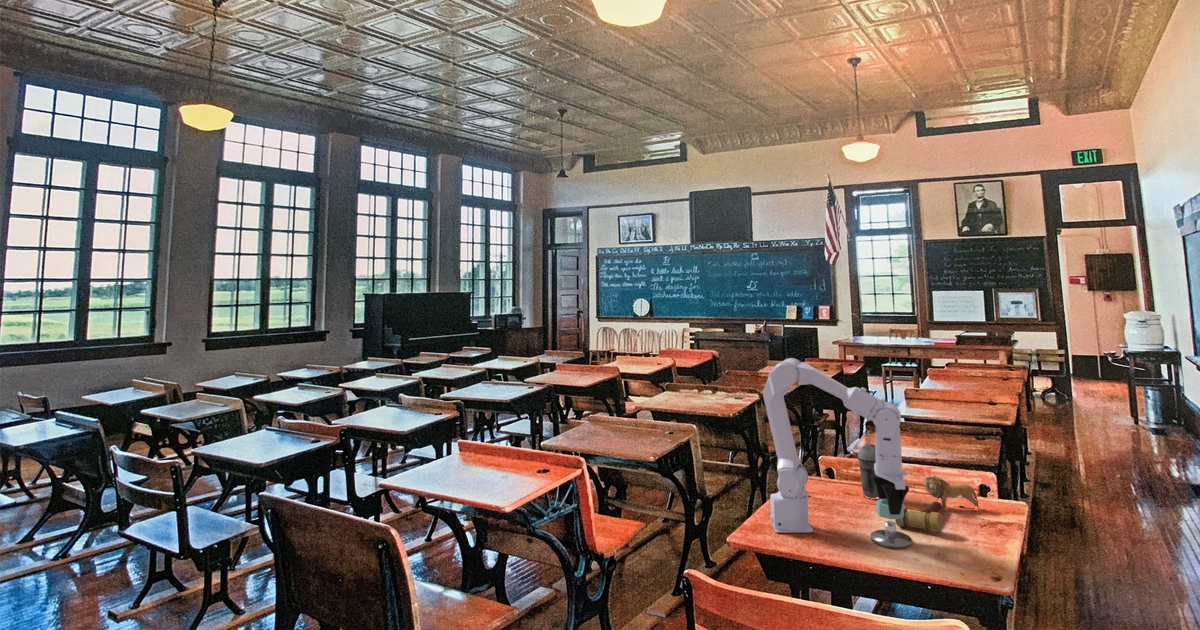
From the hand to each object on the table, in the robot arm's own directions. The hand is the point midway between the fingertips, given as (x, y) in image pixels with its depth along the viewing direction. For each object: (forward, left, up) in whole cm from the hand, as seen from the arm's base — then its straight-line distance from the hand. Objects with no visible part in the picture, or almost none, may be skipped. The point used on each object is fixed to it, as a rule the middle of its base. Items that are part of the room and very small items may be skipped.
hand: (890, 509), depth 145 cm
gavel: (+14, +13, -8) cm, 21 cm away
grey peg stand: (0, 0, -8) cm, 8 cm away
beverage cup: (+6, +31, -8) cm, 33 cm away
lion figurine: (+23, +20, -8) cm, 32 cm away
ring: (0, 0, -1) cm, 1 cm away
